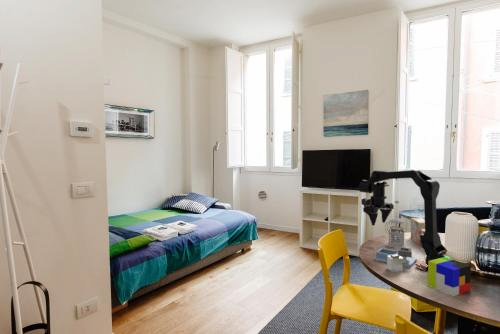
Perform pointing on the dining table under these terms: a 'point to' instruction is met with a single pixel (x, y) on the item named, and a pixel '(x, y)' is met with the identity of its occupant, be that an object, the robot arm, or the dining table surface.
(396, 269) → the engine block
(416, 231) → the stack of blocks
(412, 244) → the dining table surface
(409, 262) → the chassis
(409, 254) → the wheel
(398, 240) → the french press
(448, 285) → the puzzle toy
